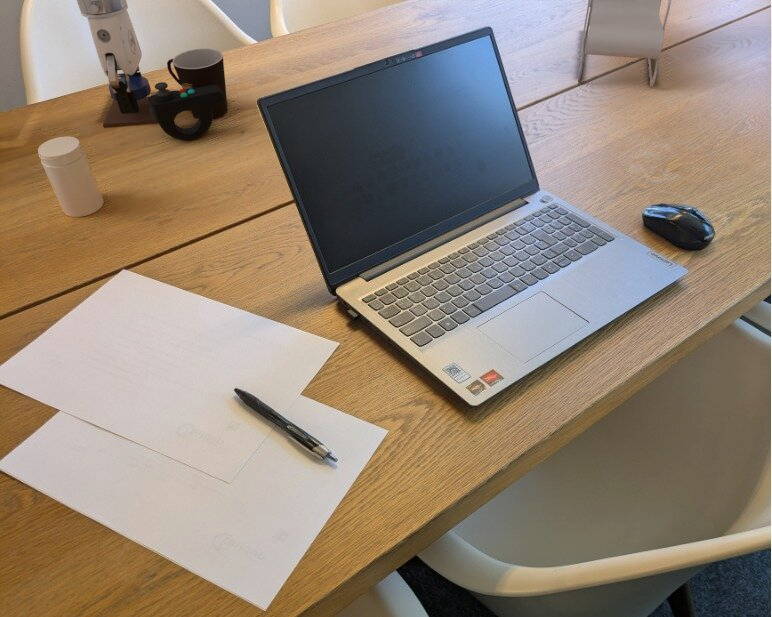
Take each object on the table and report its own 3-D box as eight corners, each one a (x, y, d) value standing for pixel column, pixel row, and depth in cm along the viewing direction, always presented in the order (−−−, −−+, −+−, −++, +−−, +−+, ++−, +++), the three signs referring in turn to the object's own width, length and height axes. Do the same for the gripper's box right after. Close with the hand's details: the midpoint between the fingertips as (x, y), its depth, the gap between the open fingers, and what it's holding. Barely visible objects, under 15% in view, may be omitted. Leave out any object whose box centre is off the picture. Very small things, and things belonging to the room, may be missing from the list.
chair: (648, 40, 138) (672, -64, 125) (652, 93, 121) (681, -22, 107) (582, 36, 141) (599, -66, 127) (577, 87, 123) (596, -25, 110)
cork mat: (103, 127, 118) (102, 124, 118) (114, 102, 125) (113, 99, 125) (160, 123, 119) (159, 119, 118) (167, 98, 126) (166, 95, 125)
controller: (158, 137, 115) (142, 82, 108) (228, 123, 118) (216, 68, 111) (161, 149, 112) (144, 93, 105) (233, 134, 115) (221, 78, 108)
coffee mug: (241, 114, 120) (230, 60, 113) (197, 128, 117) (183, 73, 110) (215, 91, 127) (204, 39, 120) (173, 104, 124) (159, 51, 117)
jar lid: (153, 84, 122) (151, 74, 121) (147, 101, 117) (144, 90, 116) (115, 86, 122) (112, 76, 120) (108, 103, 117) (104, 93, 115)
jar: (58, 218, 98) (30, 158, 91) (68, 196, 102) (42, 137, 95) (99, 215, 98) (75, 155, 91) (107, 193, 102) (85, 134, 95)
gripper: (114, 18, 102) (147, 123, 115) (134, -18, 115) (161, 81, 127) (65, 22, 102) (103, 127, 114) (90, -15, 115) (122, 84, 127)
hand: (134, 102), depth 121 cm, fingers closed on jar lid, 6 cm apart
